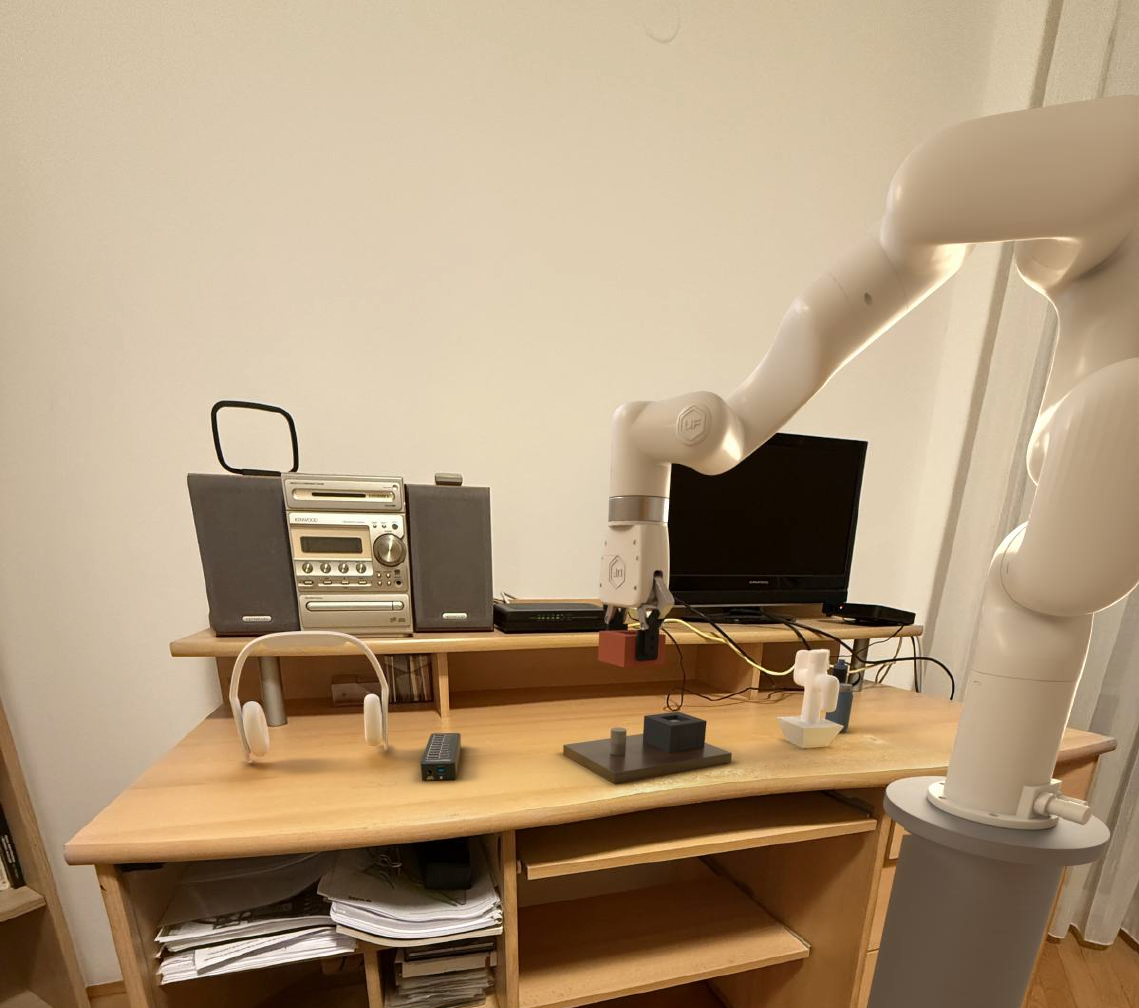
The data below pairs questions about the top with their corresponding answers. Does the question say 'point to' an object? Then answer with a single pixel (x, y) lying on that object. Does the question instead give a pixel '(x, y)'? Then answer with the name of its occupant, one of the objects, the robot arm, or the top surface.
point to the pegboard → (639, 757)
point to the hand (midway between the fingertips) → (630, 655)
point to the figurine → (813, 701)
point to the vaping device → (842, 697)
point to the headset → (252, 715)
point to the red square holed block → (625, 649)
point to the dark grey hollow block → (674, 731)
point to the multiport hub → (441, 757)
